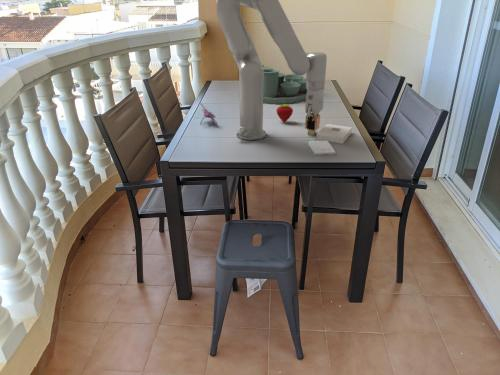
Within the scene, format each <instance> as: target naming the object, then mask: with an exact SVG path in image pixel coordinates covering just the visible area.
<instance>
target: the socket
mask: <svg viewBox="0 0 500 375" xmlns="http://www.w3.org/2000/svg"><path fill="white" fill-rule="evenodd" d="M352 129H353V127H351V126H345V125H344V126H343V125H339V124H337V125H336V124H330V123H326V124H325V125H324V126H323V127H322V128H321V129H320V130H318V132H317V133H316V137H315V138H316V140H315V141H326V140H327V141H328V142H329V143H334V144H340V145H341V144H342V145H343V144H344V143H345V142H346V140H347V139H348V138H349V137H350V136H351V134H352V131H353V130H352ZM348 136H349V137H348Z"/></svg>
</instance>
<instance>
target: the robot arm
mask: <svg viewBox="0 0 500 375" xmlns="http://www.w3.org/2000/svg"><path fill="white" fill-rule="evenodd" d="M241 6H243V7H247V8H250V9H252V10H256V12H257V13H258V15H259V17H260V19H261V21H262V22H263V24H264V26H265V28H266V30H267V31H268V33H269V35H270V37H271V39H272V40H273V42H274V43H275V44H276V45H277V47H278V48H279V51H280V52H281V53H282V56H283V57H284V59H285V61H286V64H287V67H289V70H291V72H292V73H293V74H296V75H302V76H304V75H306V76H305V77H306V78H305V79H306V89H307V96H306V100H305V105H304V106H305V110H304V111H305V114H306V115H307V129H306V130H308V129H309V130H314V128H315V121H314V118H315V115H316V114H317V115H320V112H321V111H323V109H324V95H325V94H324V90H325V83H326V73H327V72H326V70H327V58H328V56H327V54H326V53H325V52H320V51H317V52H313V51H312V52H306V51H305V50H304V48H303V46H302V44H301V42H300V40H299V39H298V37H297V34H296V32H295V30H294V28H293V26H292V24H291V22H290V20H289V18H288V17H287V14H286V13H285V11H284V9H283V7H282V4H281V3H280V1H279V0H216V4H215V9H216V15H217V19H218V21H219V24H220V27H221V29H222V32H223V35H224V36H225V39H226V42H227V45H228V48H229V50H230V52H231V54H232V56H233V59H234V61H235V63H236V65H237V68H238V83H239V86H238V87H239V90H238V92H239V130H237V131H236V137H237V138H238V139H241V140H246V141H257V140H261V139H263V138H265V137H266V136H267V131H266V130H265V129H263V126H264V125H263V124H264V123H263V122H264V116H263V115H264V111H263V110H264V103H263V80H264V70H263V66H262V65H263V64H262V62H261V59H260V57H259V54H258V52H257V49H256V46H255V44H254V42H253V40H252V36H251V33H249V32H248V29H247V27H246V24H245V22H244V18H243V16H242V13H241V8H240V7H241ZM311 115H313V117H312V116H311Z"/></svg>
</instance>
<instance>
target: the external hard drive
mask: <svg viewBox="0 0 500 375" xmlns="http://www.w3.org/2000/svg"><path fill="white" fill-rule="evenodd" d="M307 144H308V146H309V148H310V149H311V151H312V153H313V154H314V156H324V155H325V156H329V155H330V156H331V155H332V156H335V155H337V152H336V151H335V149H334V147H333V146H332V144H331V142H328V141H327V140H326V141H322V140H309V141H307Z"/></svg>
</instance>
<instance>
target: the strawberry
mask: <svg viewBox="0 0 500 375" xmlns="http://www.w3.org/2000/svg"><path fill="white" fill-rule="evenodd" d="M293 112H294V110H293V108H292V106H291V104H289V103H286V104H284V103H283V104H280V105H279V106H278V107H277V108H276V114H277V116H278V117H279V119H280V120H281V121H282V123H286V122H287V121H288V120H289V119H290V118H291V117H292V115H293Z"/></svg>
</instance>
